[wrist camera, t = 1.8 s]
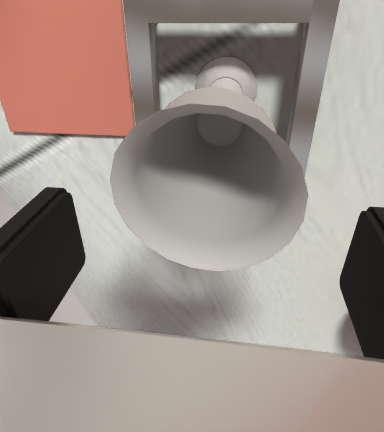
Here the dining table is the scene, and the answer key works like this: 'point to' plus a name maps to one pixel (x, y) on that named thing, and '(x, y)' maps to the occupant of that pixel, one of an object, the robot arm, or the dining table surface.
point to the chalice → (210, 176)
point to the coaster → (65, 67)
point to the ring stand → (236, 13)
